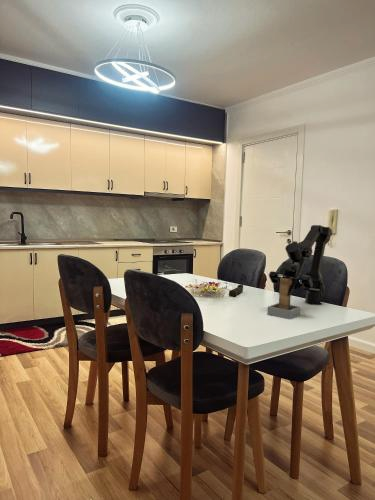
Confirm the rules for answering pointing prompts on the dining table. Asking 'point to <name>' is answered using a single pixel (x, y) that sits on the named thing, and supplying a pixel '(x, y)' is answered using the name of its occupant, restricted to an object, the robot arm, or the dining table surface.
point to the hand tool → (236, 291)
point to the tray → (284, 311)
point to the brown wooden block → (284, 293)
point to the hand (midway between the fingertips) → (283, 294)
